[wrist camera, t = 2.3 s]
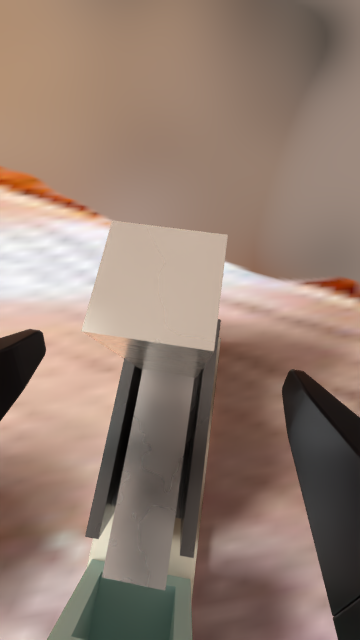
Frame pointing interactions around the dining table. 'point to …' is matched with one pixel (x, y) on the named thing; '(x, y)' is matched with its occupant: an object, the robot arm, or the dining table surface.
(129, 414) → the sleeve
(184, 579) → the socket
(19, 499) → the dining table surface
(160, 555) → the light grey l-shaped piece
